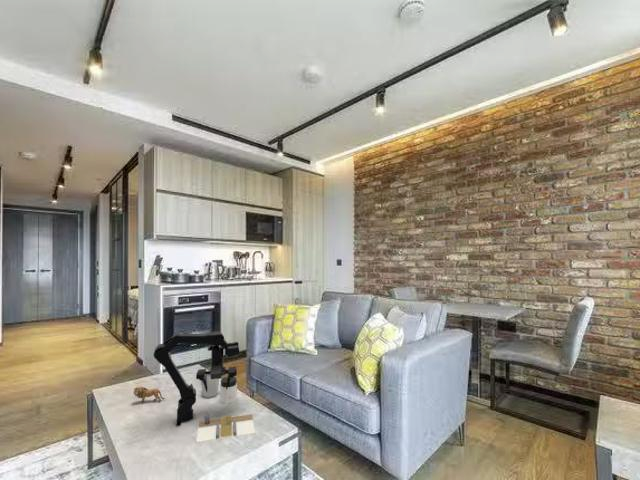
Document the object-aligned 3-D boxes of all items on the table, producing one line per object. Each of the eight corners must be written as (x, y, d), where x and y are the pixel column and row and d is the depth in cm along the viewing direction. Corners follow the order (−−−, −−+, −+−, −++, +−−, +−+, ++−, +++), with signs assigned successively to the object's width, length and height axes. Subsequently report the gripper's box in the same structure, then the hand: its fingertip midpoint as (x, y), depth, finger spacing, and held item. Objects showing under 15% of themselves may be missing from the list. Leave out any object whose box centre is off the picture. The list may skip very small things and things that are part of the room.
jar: (222, 407, 162) (222, 383, 162) (217, 401, 169) (218, 378, 169) (239, 403, 167) (239, 380, 167) (234, 397, 174) (234, 375, 174)
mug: (221, 394, 177) (221, 376, 177) (207, 400, 170) (207, 381, 170) (208, 388, 184) (208, 371, 185) (194, 394, 177) (194, 376, 178)
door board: (196, 444, 130) (196, 432, 131) (199, 424, 146) (199, 412, 146) (254, 435, 137) (255, 423, 137) (252, 416, 153) (252, 405, 153)
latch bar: (221, 427, 142) (221, 416, 142) (231, 425, 143) (231, 415, 143) (220, 437, 134) (220, 426, 134) (231, 435, 135) (231, 424, 135)
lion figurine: (132, 407, 162) (133, 389, 163) (134, 402, 167) (134, 385, 168) (164, 401, 168) (164, 384, 169) (164, 397, 173) (165, 380, 173)
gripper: (194, 365, 145) (194, 399, 145) (236, 362, 150) (236, 395, 149) (198, 357, 156) (197, 389, 156) (237, 354, 161) (236, 385, 160)
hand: (216, 390), depth 155 cm, fingers open, 9 cm apart
